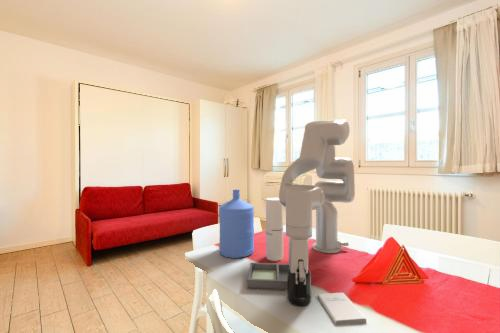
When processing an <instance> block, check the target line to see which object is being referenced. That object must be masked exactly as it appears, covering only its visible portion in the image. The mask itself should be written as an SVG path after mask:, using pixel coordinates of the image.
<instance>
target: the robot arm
mask: <svg viewBox="0 0 500 333" xmlns="http://www.w3.org/2000/svg"><path fill="white" fill-rule="evenodd" d="M349 135H350V125H349V122H348V121H347V120H346V119H330V120H318V121H317V120H316V121H312V122H308V123H306V125H305V126H304V132H303V138H302V143H301V147H300V153H299V157H298V158H296V159H295V160H294V161H292V162H291V163H290V165H289V166H288V167H287V168H286V170H285V171H284V173H283V174H282V177H281V182H280V186H279V189H278V190H279V191H278V198H279V201H280V203H281V204H282V205H283V207H285V235H286V237H288V264H289V267H290V272H291V273H292V274H293V273H295V281H296V283H295V297H296V298H306V276H305V274H307V273H308V269H309V239H311V238H312V237H313V211H315V242H314V243H313V244H312V249H313V250H314V251H316V252H319V253H323V254H337V253H339V252H341V250H342V248H341V247H349V245H350V244H349V242H348V241H344V240H343V239H342V240H339V239H338V209H337V207H336V206H335V205H334V204H333V203H347V204H348V203H351V202H353V201H354V199H355V196H356V195H355V192H356V191H355V190H356V189H355V187H356V185H355V165H354V162H353V160H352V159H351V158H349V157H336V147H335V146H341V145H343V144H345V142H346V141H347V139H348V137H349ZM313 170H315V174H316V176H317V177H318V178H320V179H323V180H319V181H317V182H315V184H314V185H308V184H293V183H294V181H295V180H296V179H298V178H299V177H300V176H301V175H303V174H306V173H308V172H311V171H313ZM324 179H325V180H324ZM297 270H299V272H297ZM297 274H299V277H298V276H297Z"/></svg>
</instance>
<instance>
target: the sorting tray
mask: <svg viewBox="0 0 500 333" xmlns="http://www.w3.org/2000/svg"><path fill="white" fill-rule="evenodd" d="M289 268H290V267H289V263H273V262H271V263H269V262H250V264H249V268H248V273H247V279H246V285H247V286H246V289H249V290H262V291H263V290H266V291H267V290H269V291H287V271H288V269H289Z"/></svg>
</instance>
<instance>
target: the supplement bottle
mask: <svg viewBox="0 0 500 333" xmlns="http://www.w3.org/2000/svg"><path fill="white" fill-rule="evenodd" d="M297 272H299V270H297ZM297 276H298V277H299V274H297ZM305 276H306V298H296V297H295V283H296V281H295V273H293V274H292V273H291V272H290V268H289V269H288V271H287V292H286V294H287V295H286V296H287V297H286V298H287V301H288V302H289V303H290V304H292V305H293V306H295V307H305V306H308V305H309V304H311V299H312V285H311V284H312V273H311V271H310V269H309V268H308V273H307V274H305Z"/></svg>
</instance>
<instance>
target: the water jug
mask: <svg viewBox="0 0 500 333" xmlns="http://www.w3.org/2000/svg"><path fill="white" fill-rule="evenodd" d="M240 191H241V190H240V189H233V190H232V199H230V200H228V201H227V202H223V204H221V205H220V206H219V210H218V218H219V219H218V220H219V221H218V222H219V246H218V250H219V254H220V255H221V256H223V257H226V258H229V259H241V258H246V257H249V256H251V255H252V254H253V253H254V251H255V245H254V244H255V243H254V242H255V240H254V239H255V238H254V235H255V225H254V221H255V220H254V214H255V212H254V211H255V210H254V205H253V204H251V203H249V202H247V201H245V200H243V199H241V197H240V195H241V194H240Z"/></svg>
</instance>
